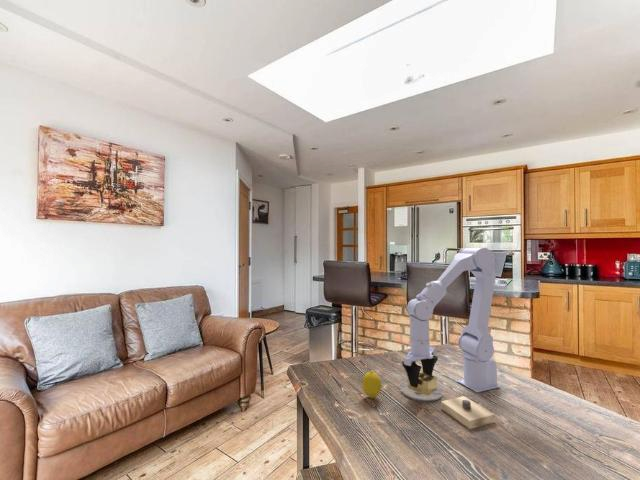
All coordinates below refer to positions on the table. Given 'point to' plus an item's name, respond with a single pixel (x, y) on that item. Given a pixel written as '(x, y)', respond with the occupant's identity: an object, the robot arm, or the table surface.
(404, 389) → the hub
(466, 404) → the stand
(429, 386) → the gold open box
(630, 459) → the table surface
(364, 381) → the lemon
